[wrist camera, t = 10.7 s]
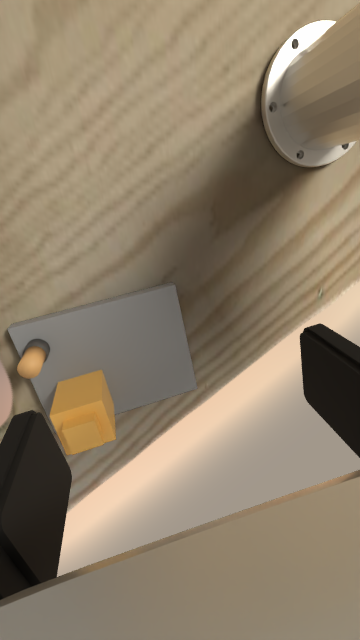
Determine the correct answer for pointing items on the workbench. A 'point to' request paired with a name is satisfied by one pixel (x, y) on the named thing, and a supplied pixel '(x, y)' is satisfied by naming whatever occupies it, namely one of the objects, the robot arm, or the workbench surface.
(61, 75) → the workbench surface
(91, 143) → the workbench surface
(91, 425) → the stepped orange block
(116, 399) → the board
